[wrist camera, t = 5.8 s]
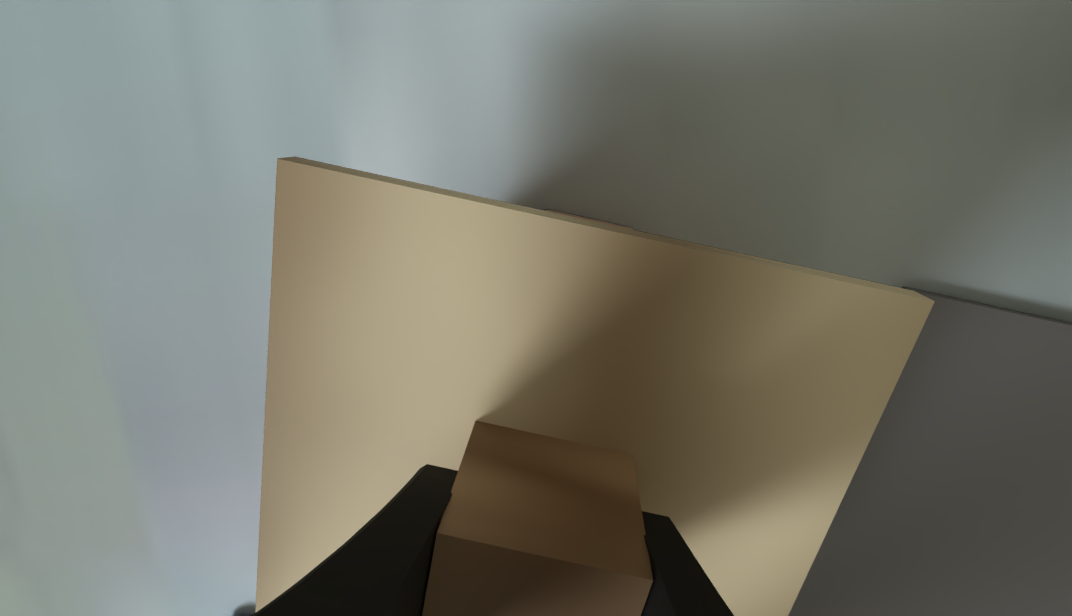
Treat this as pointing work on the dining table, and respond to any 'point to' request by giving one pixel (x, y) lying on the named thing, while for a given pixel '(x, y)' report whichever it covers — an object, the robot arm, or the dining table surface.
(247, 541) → the dining table surface
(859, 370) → the lid
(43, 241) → the dining table surface
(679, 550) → the robot arm
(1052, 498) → the mat
